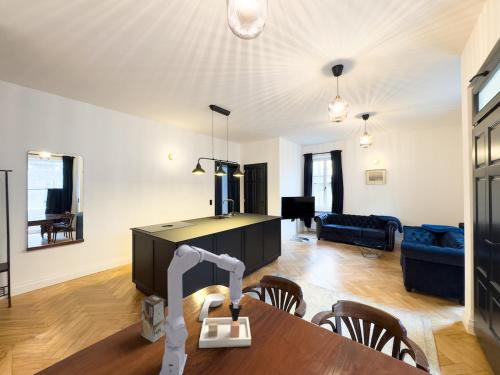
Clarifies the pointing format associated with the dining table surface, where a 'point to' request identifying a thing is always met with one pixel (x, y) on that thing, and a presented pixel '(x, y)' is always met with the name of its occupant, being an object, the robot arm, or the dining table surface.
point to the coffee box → (153, 318)
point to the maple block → (213, 328)
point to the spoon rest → (210, 304)
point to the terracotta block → (234, 329)
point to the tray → (225, 334)
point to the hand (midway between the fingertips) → (234, 315)
